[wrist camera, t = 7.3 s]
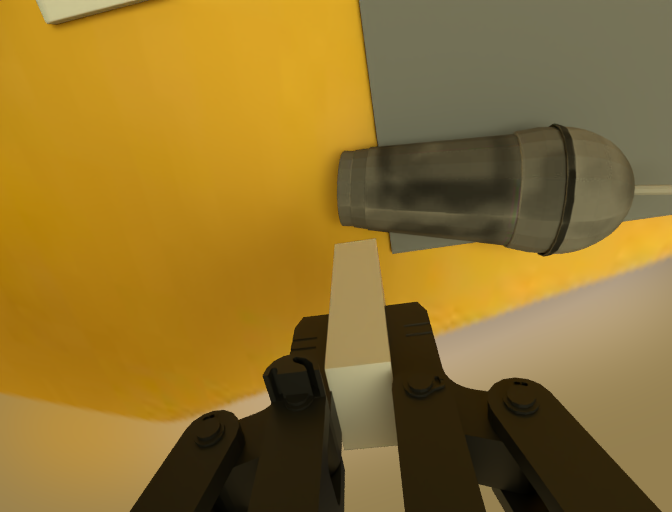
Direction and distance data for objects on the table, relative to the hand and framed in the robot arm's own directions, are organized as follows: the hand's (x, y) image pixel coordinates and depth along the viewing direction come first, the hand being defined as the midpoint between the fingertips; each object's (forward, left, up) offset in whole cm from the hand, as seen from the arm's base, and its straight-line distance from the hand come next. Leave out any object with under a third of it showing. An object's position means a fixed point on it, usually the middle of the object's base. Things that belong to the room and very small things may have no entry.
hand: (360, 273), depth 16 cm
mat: (+12, +2, -14) cm, 18 cm away
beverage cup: (-1, 0, -11) cm, 11 cm away
